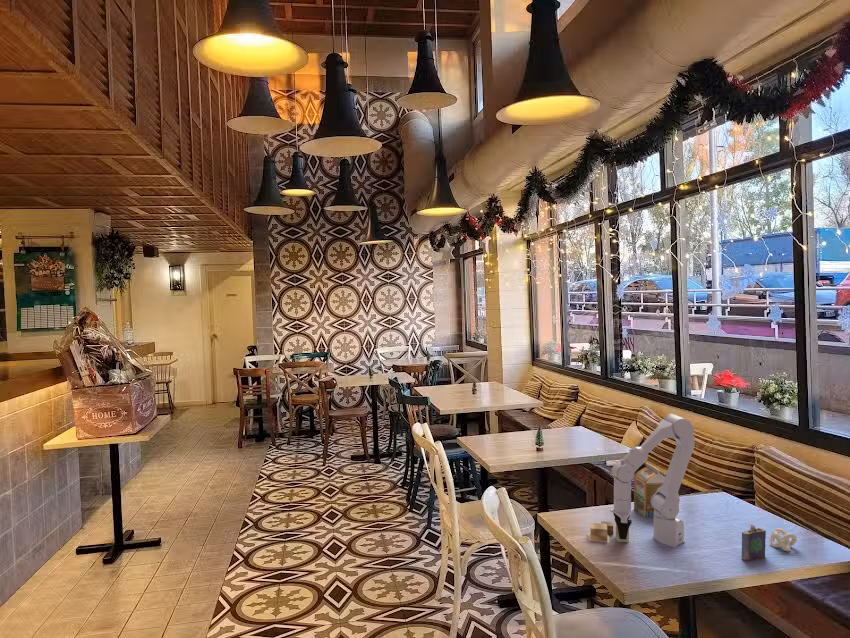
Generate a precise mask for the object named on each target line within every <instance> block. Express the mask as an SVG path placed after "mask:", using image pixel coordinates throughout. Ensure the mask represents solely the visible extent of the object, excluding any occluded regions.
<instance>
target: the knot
mask: <svg viewBox="0 0 850 638" xmlns="http://www.w3.org/2000/svg"><path fill="white" fill-rule="evenodd" d="M780 534H782V536H781V535H780ZM790 538H791V539H790ZM768 539H769V544H770V546H772V548H779V547H780V548H781V549H782V550H783V551H784V552H790V550H791V547H792V546H794V545H795V544H796V543H797V541H798V538H797V535H796V534H794V533H791V532H789V533H788V532H787V531H786V530H785V529H783V528H779V527H778V528H774V530H773V531H772V532H771V533H770V535H769V538H768ZM775 540H776V542H775Z"/></svg>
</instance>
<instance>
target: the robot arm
mask: <svg viewBox="0 0 850 638" xmlns="http://www.w3.org/2000/svg"><path fill="white" fill-rule="evenodd" d="M694 431H695V427H694V425H693V423H692V422H691V421H690V420H689V419H688V418H684V417H682V416H679V415H677V414H675V413H669V414H667V415H666V416H664V417H663V419H661V420H660V421H659V422H658V425H657V427H655V429H654V430H653V431H652V432H651V434H650V435H649V436H648V437H647V438H646V439H645V440H644V442H642V443H641V445H639V446H634V447H631V448H630V449H628V453H627V454H626V455H625V456H624V457H623V458H620V459H619V461H618V462H615V463H614V464H613V465H612V468H611V469H610V470H611V474H612V476H613V508H610V510H609V511H610V512H611V513H612V514H613V516H614V522H615V525H616V524H617V527H618V533H619V538H620V539H626V538H627V534H628V529H629V530H630V527H631V525H632V523H633V521H632V519H630V517H631V515H632V480H634V475H635V474H636V472H637V470H639V468H640V467H642V465H644V464H645V462H646V461H647V460H649V457H648V456H649V453H650V452H651V451H653V450H654V449H655V448H656V447H657V446H658V445H659V444H660V443H661V442H662V441H664V440H665V439H672V438H673V439H674V440H675V442H676V446H675V449H674V452H673V455H672V457H671V460H670V462H669V466H668V469H667V471H666V475H665V479H664V482H663V485H662V486H661V487H659V488H658V489H657V491H656V493H655V494H654V495H653V496H652V498H651V505H652V507H653V508H654V518H653V539H654V540H655V541H657V542H658V543H660V544H663V545H666V546H670V547H673V548H674V547H677V546H679V545H680V544H683V543H686V541H685V539H684V538H685V525H684V521H683V520H682V519H680V518H679V517H677V516H678V514H679V512H680V508H679V507H680V506H679V505H680V500H681V498H680V495H679V491H680V487H681V485H682V482H683V479H684V478H685V477H684V476H685V474H686V471H687V468H688V465H689V463H690V460H691V458H692V455H693V452H694V449H695V445H696V442H695V434H694Z"/></svg>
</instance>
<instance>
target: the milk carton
mask: <svg viewBox="0 0 850 638" xmlns="http://www.w3.org/2000/svg"><path fill="white" fill-rule="evenodd" d="M665 476H666V475H665ZM665 476H664V475H663V474H662V473H660V469H659V468H657V467H655V466H654V465H652V464H650V463H648V462H646V466H645V467H643V468H641V469H640V470H638V471H636V472H635V473H634V478H633V510H634V512H636V513H637V514H639V515H640V517H644V518H645V519H649V518H650V519H651V518H653V519H654V508H653V507H652V505H651V498H652V496H653V495H654V494H655V493H656V491H657V489H658V488H659V487H661V486H662V485H663V482H664V479H665Z"/></svg>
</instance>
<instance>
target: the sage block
mask: <svg viewBox="0 0 850 638" xmlns="http://www.w3.org/2000/svg"><path fill="white" fill-rule="evenodd" d="M615 540H616V542H619V543H620V542H621V543H630V528H629V529H628V534H627V538H626V539H620V538H619V533H618V527H617V524H616V523H615Z"/></svg>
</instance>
